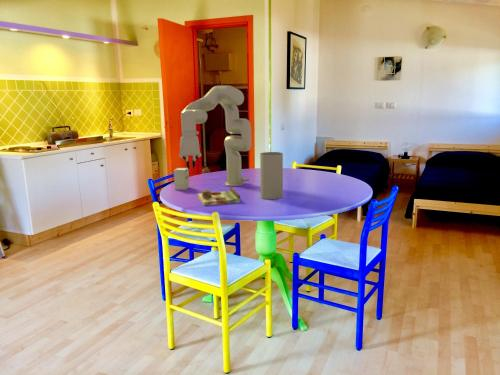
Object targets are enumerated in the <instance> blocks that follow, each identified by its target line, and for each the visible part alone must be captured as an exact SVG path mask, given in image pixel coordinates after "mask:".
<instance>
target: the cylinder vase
mask: <svg viewBox="0 0 500 375" xmlns="http://www.w3.org/2000/svg"><path fill="white" fill-rule="evenodd" d="M259 156H260V157H259V159H260V160H259V161H260V163H259V164H260V165H259V166H260V168H259V170H260V197H261V198H262V199H264V200H272V201H273V200H274V201H275V200H279V199H282V198H283V196H284V189H283V187H284V186H283V185H284V180H283V179H284V173H283V172H284V169H283V168H284V153H283V152H280V151H279V152H278V151H265V152H261V153H259Z"/></svg>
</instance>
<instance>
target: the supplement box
mask: <svg viewBox="0 0 500 375" xmlns="http://www.w3.org/2000/svg"><path fill="white" fill-rule="evenodd" d="M189 175H190V174H189V169H188V167H177V168H175V169H174V170H173V179H174V180H173V182H174V183H173V184H174V190H178V191H179V190H181V191H186V190H187V189H189V188H190V176H189Z"/></svg>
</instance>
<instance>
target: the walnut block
mask: <svg viewBox="0 0 500 375" xmlns="http://www.w3.org/2000/svg"><path fill="white" fill-rule="evenodd" d="M211 192H212V190H210V189H205V190H201V193H202V197H203V199H204V198H212V196H211Z"/></svg>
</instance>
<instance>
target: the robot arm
mask: <svg viewBox="0 0 500 375" xmlns="http://www.w3.org/2000/svg"><path fill="white" fill-rule="evenodd" d="M244 101H245V96H244V93H243V91H241V90H240V89H238V88H236V87H234V86H232V85H215V86H213V87H211V89H209V91H208V92H206V94H205V95H203V97H202V98H199V99H197V100H195V101H192V102H190V103H189V104H188V105H187V106H186V107H185V108H184V109H183V110H182V111H181V112H180V123H181V136H180V140H179V154H178V157H179V158H181V159H183V160H184V161H185V164H186V165H185V168H188V170H189V169H190V168H192V169H195V167H196V160H197V159H198V158H200V157H202V153H201V151H200V144H199V143H200V141H199V137H198V135H199V134H200V132H199V131H198V130H197V125H198V124H205V123H206V122H207V120H208V113H207V112H209V111H211V110H214V109H215V108H216V106H217V105H219V104H220V105H221V107H222V108H223V110H224V116H225V130H226V132H227V133H228V134H232V135H227V136H226V137H225V139H224V141H223V142H224V143H223V145H224V148H225V155H226V158H225V159H226V160H225V161H226V181H225V182H224V186H228V187H239V186H243V185H245V182H248V181H250V178H249V177H243V176H242V155H241V154H240V152H248V151H250V150H251V148H252V125H251V122H250V120H248V119H247V118H240V113H239V108H238V106H240V105H242V104H243V103H244ZM233 134H234V135H233ZM235 134H237V135H235ZM238 134H239V135H238ZM189 156H192V159H191V167H190V160H189Z"/></svg>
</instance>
